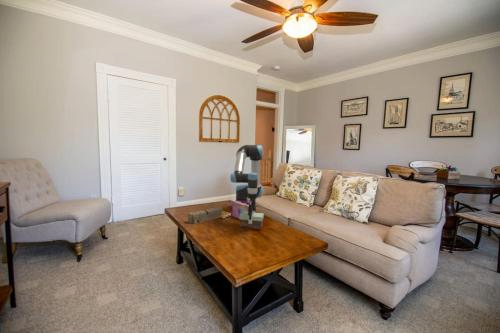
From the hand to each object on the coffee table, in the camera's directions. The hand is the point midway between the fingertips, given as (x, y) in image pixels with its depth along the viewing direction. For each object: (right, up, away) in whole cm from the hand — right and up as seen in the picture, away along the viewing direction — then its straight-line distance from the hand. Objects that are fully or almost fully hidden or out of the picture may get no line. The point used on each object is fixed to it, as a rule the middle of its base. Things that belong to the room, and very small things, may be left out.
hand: (251, 221), depth 174 cm
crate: (0, -4, 0) cm, 4 cm away
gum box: (-7, -3, +20) cm, 21 cm away
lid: (0, +2, 0) cm, 2 cm away
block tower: (-39, -3, +16) cm, 42 cm away
